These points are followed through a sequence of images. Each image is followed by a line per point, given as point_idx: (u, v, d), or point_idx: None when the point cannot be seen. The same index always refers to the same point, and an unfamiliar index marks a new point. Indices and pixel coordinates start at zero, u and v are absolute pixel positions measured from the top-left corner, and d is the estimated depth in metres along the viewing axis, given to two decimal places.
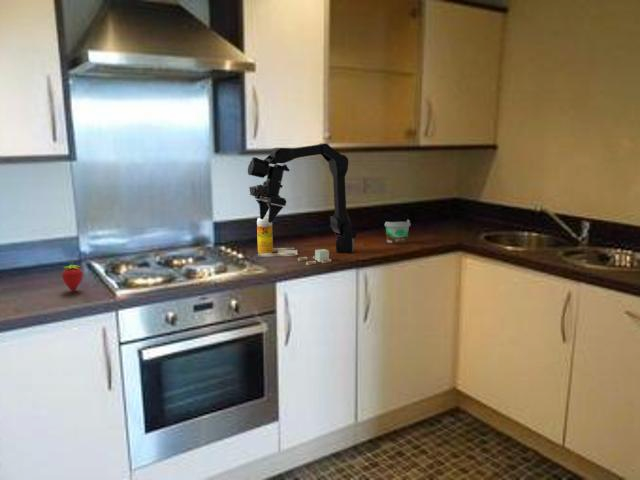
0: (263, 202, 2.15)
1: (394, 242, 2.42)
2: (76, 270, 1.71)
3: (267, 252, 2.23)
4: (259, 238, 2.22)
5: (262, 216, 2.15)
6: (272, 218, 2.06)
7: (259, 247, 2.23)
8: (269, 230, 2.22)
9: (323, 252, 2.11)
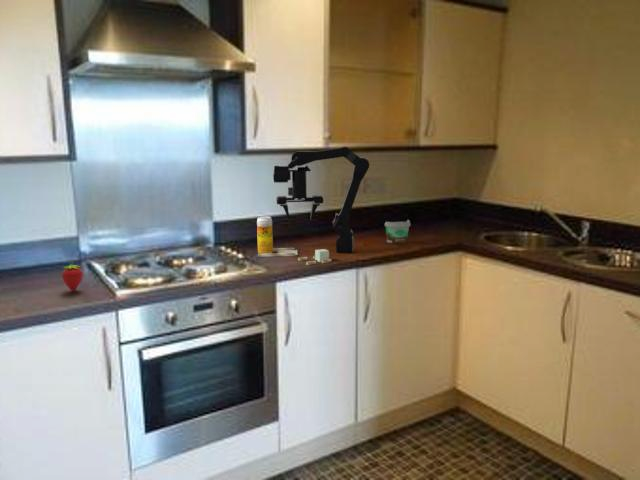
0: (312, 204, 2.26)
1: (394, 242, 2.42)
2: (76, 270, 1.71)
3: (267, 252, 2.23)
4: (259, 238, 2.22)
5: None
6: (287, 217, 2.25)
7: (259, 247, 2.23)
8: (269, 230, 2.22)
9: (323, 252, 2.11)
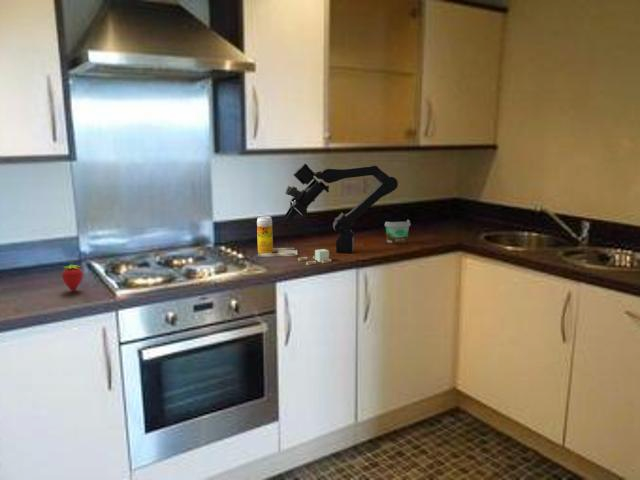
0: (294, 206, 2.28)
1: (394, 242, 2.42)
2: (76, 270, 1.71)
3: (267, 252, 2.23)
4: (259, 238, 2.22)
5: (286, 217, 2.28)
6: (288, 220, 2.19)
7: (259, 247, 2.23)
8: (269, 230, 2.22)
9: (323, 252, 2.11)
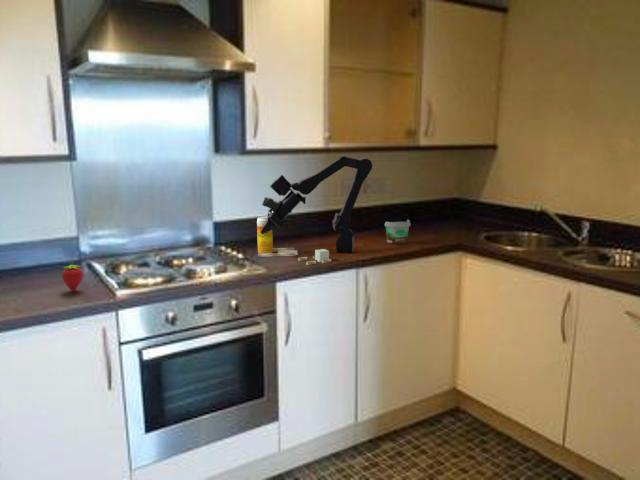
0: None
1: (394, 242, 2.42)
2: (76, 270, 1.71)
3: (267, 252, 2.23)
4: (259, 238, 2.22)
5: None
6: (265, 231, 2.20)
7: (259, 247, 2.23)
8: None
9: (323, 252, 2.11)
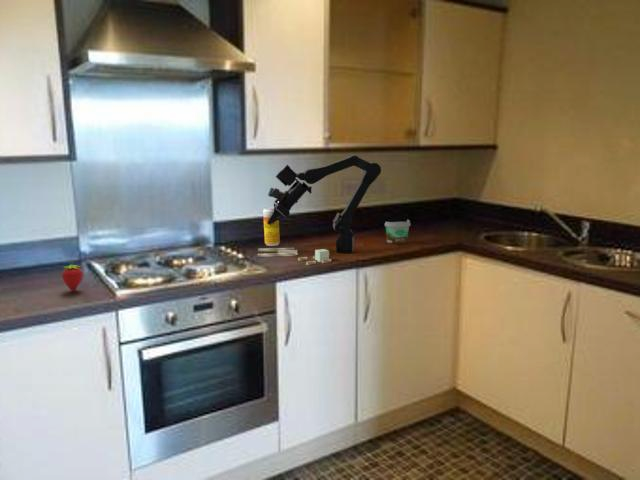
0: None
1: (394, 242, 2.42)
2: (76, 270, 1.71)
3: (274, 243, 2.22)
4: (266, 229, 2.22)
5: None
6: (271, 221, 2.20)
7: (266, 238, 2.23)
8: (276, 221, 2.21)
9: (323, 252, 2.11)
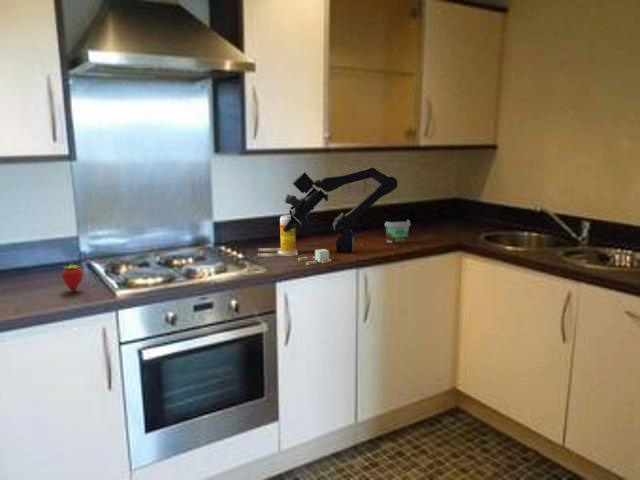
0: None
1: (394, 242, 2.42)
2: (76, 270, 1.71)
3: (290, 251, 2.24)
4: (282, 237, 2.23)
5: None
6: (287, 229, 2.19)
7: (282, 246, 2.24)
8: (292, 229, 2.23)
9: (323, 252, 2.11)
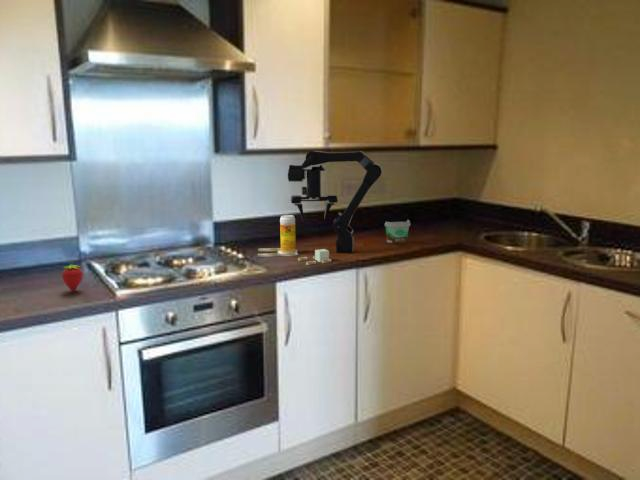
0: (326, 203, 2.28)
1: (394, 242, 2.42)
2: (76, 270, 1.71)
3: (290, 251, 2.24)
4: (282, 237, 2.23)
5: (324, 216, 2.28)
6: (301, 216, 2.27)
7: (282, 246, 2.24)
8: (292, 229, 2.23)
9: (323, 252, 2.11)
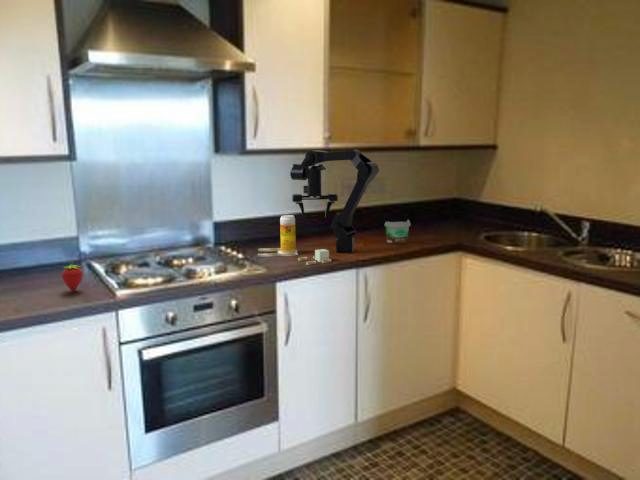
0: (326, 202, 2.33)
1: (394, 242, 2.42)
2: (76, 270, 1.71)
3: (290, 251, 2.24)
4: (282, 237, 2.23)
5: (325, 215, 2.33)
6: (302, 214, 2.32)
7: (282, 246, 2.24)
8: (292, 229, 2.23)
9: (323, 252, 2.11)
